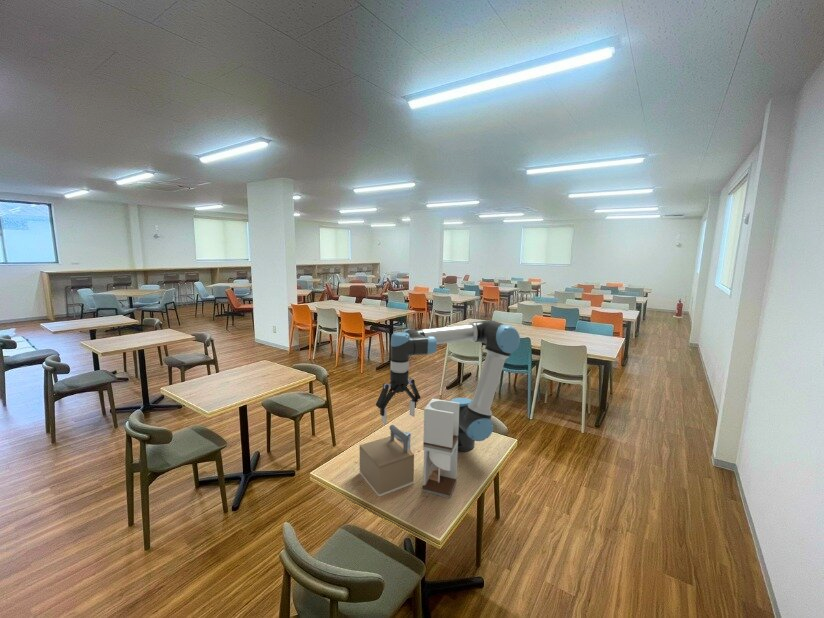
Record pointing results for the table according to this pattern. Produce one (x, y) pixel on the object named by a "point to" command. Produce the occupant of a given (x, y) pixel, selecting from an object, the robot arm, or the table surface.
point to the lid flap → (388, 449)
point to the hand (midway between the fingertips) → (398, 418)
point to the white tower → (440, 447)
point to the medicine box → (402, 440)
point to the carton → (387, 474)
